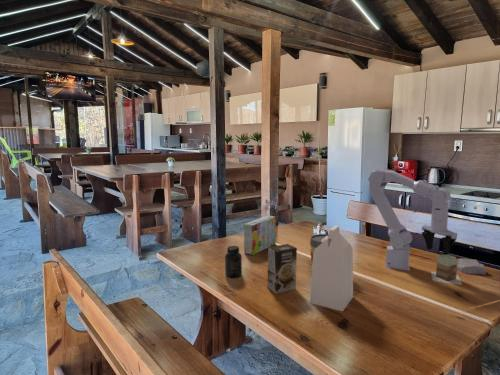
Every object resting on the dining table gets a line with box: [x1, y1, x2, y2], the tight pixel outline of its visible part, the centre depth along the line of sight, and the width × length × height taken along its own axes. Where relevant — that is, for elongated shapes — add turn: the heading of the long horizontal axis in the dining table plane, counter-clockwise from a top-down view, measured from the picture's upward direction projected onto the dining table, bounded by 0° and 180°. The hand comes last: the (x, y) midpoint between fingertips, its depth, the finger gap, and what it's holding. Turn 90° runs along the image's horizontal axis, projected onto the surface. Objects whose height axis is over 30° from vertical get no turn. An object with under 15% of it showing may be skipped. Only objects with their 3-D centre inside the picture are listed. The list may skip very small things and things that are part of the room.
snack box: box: [243, 215, 277, 256], centre depth 176 cm, size 21×6×15 cm, turn 144°
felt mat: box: [430, 271, 463, 286], centre depth 139 cm, size 10×10×1 cm
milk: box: [309, 225, 354, 312], centre depth 121 cm, size 12×12×26 cm
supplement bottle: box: [224, 245, 243, 279], centre depth 143 cm, size 7×7×12 cm
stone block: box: [456, 258, 487, 276], centre depth 149 cm, size 12×5×10 cm
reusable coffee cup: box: [309, 233, 329, 263], centre depth 145 cm, size 13×13×15 cm
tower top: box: [436, 262, 458, 274], centre depth 139 cm, size 5×5×3 cm
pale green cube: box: [436, 253, 457, 267], centre depth 138 cm, size 4×4×3 cm
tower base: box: [435, 270, 458, 281], centre depth 139 cm, size 5×5×3 cm
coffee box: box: [267, 243, 298, 294], centre depth 130 cm, size 9×6×16 cm
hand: (437, 251), depth 141 cm, fingers open, 7 cm apart
